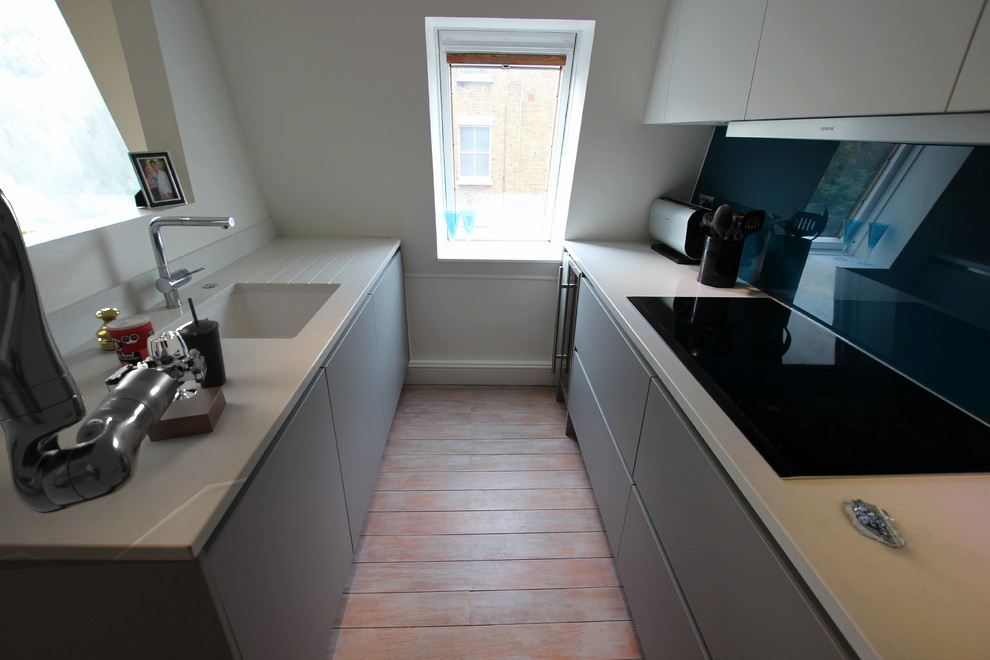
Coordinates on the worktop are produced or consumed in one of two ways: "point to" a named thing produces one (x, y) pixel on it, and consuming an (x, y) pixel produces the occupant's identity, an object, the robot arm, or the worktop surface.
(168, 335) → the wineglass
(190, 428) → the walnut block
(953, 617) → the worktop surface
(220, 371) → the drinking cup
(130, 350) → the canned food
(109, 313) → the brass candlestick
